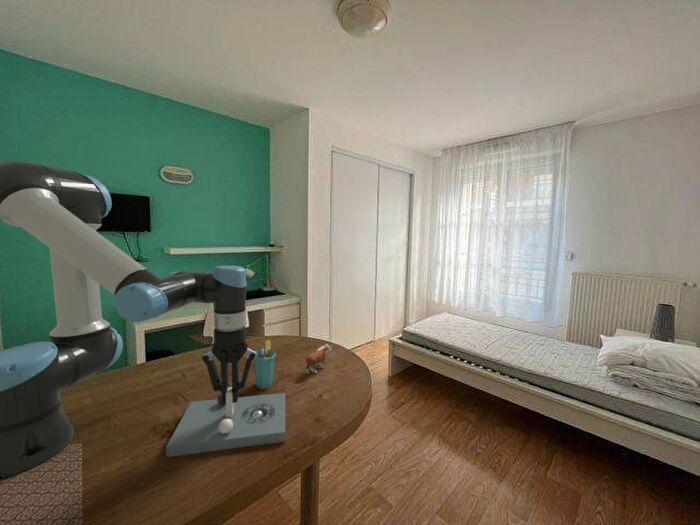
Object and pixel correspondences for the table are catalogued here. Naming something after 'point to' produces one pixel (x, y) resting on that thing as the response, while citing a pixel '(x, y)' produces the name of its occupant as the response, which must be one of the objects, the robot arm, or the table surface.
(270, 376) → the cup
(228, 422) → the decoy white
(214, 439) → the plate
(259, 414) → the steel ball
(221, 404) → the matte dark gray ball
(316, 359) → the bull figurine
